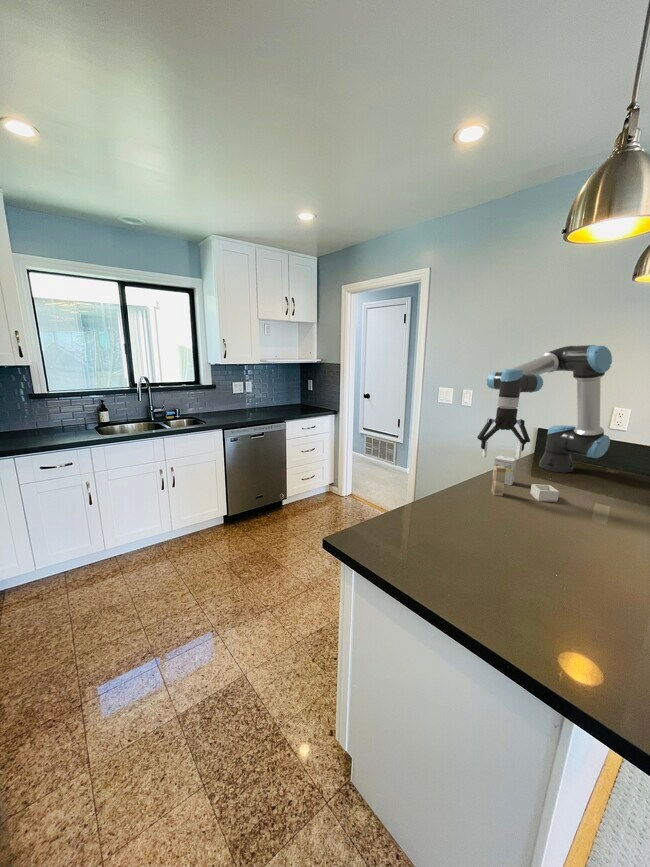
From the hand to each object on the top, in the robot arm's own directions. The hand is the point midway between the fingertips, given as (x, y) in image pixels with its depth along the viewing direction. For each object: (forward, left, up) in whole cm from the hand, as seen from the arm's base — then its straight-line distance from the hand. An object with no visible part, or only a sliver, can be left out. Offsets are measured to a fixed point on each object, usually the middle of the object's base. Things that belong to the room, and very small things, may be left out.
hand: (500, 457), depth 148 cm
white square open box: (+2, +18, -16) cm, 25 cm away
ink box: (-16, +8, -17) cm, 25 cm away
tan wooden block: (0, 0, -16) cm, 16 cm away
